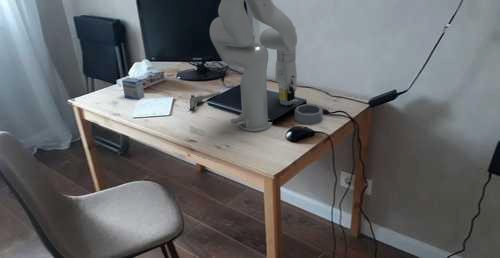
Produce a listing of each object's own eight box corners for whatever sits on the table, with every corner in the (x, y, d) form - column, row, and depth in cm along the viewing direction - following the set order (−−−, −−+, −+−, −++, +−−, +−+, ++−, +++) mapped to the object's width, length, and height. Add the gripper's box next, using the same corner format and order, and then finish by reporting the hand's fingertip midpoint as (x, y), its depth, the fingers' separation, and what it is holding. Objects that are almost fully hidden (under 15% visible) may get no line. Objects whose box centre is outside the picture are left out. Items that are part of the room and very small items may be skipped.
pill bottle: (296, 101, 178) (296, 77, 173) (291, 107, 173) (291, 82, 168) (282, 100, 181) (282, 75, 176) (277, 105, 176) (276, 80, 171)
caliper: (192, 110, 177) (190, 96, 174) (190, 109, 177) (188, 96, 174) (222, 94, 191) (221, 81, 188) (220, 93, 192) (219, 80, 189)
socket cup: (304, 126, 157) (304, 117, 155) (290, 116, 165) (290, 107, 164) (327, 120, 161) (327, 111, 159) (312, 110, 169) (312, 102, 167)
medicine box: (124, 98, 192) (121, 80, 188) (130, 94, 195) (127, 77, 192) (139, 100, 189) (135, 82, 185) (144, 96, 193) (141, 78, 189)
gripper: (267, 52, 173) (269, 93, 182) (288, 63, 159) (289, 107, 167) (283, 49, 176) (284, 89, 184) (305, 60, 162) (305, 103, 170)
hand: (286, 97), depth 176 cm, fingers closed on pill bottle, 6 cm apart
